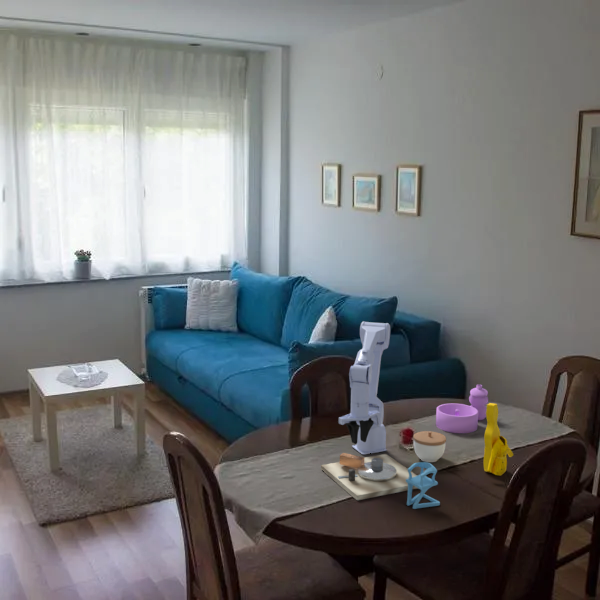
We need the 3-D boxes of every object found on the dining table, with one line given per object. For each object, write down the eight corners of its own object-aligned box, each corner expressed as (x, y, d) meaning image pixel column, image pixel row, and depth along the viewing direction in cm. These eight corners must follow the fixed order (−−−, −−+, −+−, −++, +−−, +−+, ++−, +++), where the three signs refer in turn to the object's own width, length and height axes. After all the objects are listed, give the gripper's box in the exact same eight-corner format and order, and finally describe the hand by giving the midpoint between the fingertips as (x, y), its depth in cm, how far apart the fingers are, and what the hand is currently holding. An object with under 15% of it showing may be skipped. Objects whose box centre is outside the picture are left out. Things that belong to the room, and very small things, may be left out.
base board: (385, 458, 249) (386, 445, 248) (426, 486, 227) (426, 472, 226) (321, 469, 239) (321, 456, 238) (357, 500, 217) (357, 485, 216)
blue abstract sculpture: (400, 502, 217) (402, 463, 214) (421, 495, 221) (423, 457, 219) (419, 512, 210) (421, 472, 208) (440, 505, 215) (442, 465, 213)
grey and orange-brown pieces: (402, 470, 234) (402, 458, 233) (386, 484, 224) (387, 471, 223) (349, 458, 243) (350, 446, 243) (332, 471, 233) (332, 458, 233)
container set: (461, 436, 269) (463, 401, 267) (427, 425, 280) (429, 391, 278) (500, 421, 286) (502, 388, 283) (466, 411, 297) (468, 379, 294)
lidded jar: (448, 455, 251) (449, 429, 249) (440, 467, 241) (441, 440, 240) (417, 450, 255) (418, 424, 254) (408, 461, 246) (409, 434, 244)
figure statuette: (493, 483, 230) (498, 415, 226) (470, 476, 235) (474, 409, 231) (518, 465, 243) (522, 401, 239) (495, 459, 248) (499, 396, 244)
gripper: (347, 408, 230) (346, 450, 233) (385, 401, 237) (384, 442, 240) (335, 402, 236) (334, 442, 239) (373, 395, 243) (372, 435, 246)
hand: (358, 442), depth 240 cm, fingers open, 3 cm apart
